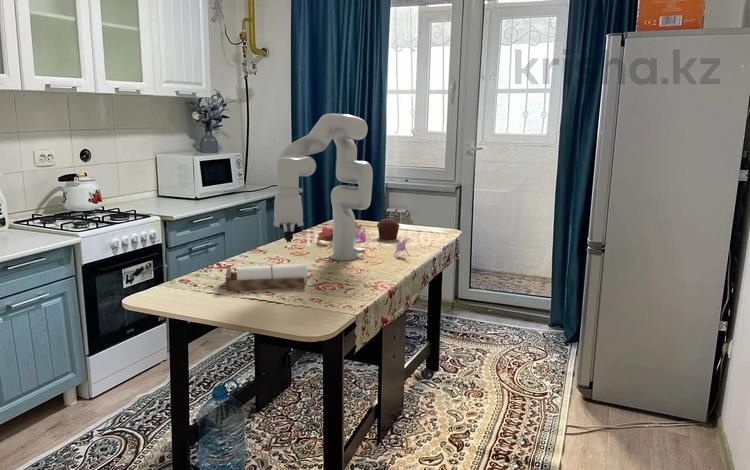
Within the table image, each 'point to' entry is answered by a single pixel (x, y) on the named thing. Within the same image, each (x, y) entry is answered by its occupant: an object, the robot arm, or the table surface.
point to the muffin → (388, 229)
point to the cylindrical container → (272, 272)
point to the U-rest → (260, 283)
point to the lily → (400, 247)
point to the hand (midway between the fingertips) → (288, 241)
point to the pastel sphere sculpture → (327, 235)
